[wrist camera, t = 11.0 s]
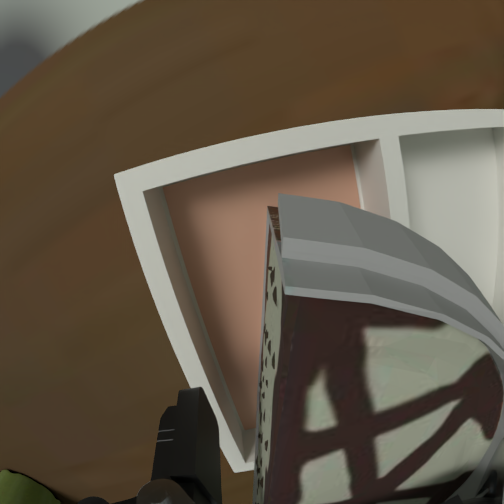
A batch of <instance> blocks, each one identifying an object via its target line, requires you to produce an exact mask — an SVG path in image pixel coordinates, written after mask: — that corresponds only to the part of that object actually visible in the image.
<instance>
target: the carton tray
mask: <svg viewBox="0 0 504 504" xmlns="http://www.w3.org/2000/svg"><path fill="white" fill-rule="evenodd" d="M114 178H115V182H116V185H117V189H118V192H119V196H120V199H121V203H122V206H123V210H124V213H125V216H126V220H127V223H128V226H129V229H130V232H131V236H132V239H133V242H134V245H135V248H136V251H137V254H138V257H139V260H140V263H141V266H142V269H143V271H144V274H145V277H146V280H147V283H148V285H149V288H150V291H151V293H152V296H153V299H154V301H155V304H156V307H157V309H158V312H159V314H160V317H161V320H162V322H163V325H164V327H165V330H166V332H167V334H168V337H169V339H170V342H171V344H172V346H173V349H174V351H175V353H176V356H177V358H178V360H179V363H180V365H181V367H182V370H183V372H184V374H185V376H186V378H187V381H188V383H189V385H190V387H191V388H195V387H202V388H203V389H204V392H205V394H206V396H207V398H208V401H209V403H210V405H211V407H212V409H213V411H214V414H215V416H216V419H217V422H218V427H219V441H220V447H221V449H222V451H223V453H224V455H225V457H226V458H227V460H228V462H229V464H230V466H231V468H232V469H233V471H234V473H236V472H243V471H248V470H254V463H255V439H256V413H257V388H258V372H259V355H260V338H261V320H262V302H263V282H264V263H265V242H266V221H267V206H273V207H278V193H281V194H288V195H296V196H303V197H310V198H317V199H324V200H331V201H337V202H341V203H344V204H347V205H350V206H353V207H356V208H359V209H362V210H365V211H368V212H371V213H374V214H377V215H380V216H383V217H386V218H389V219H391V220H394V221H397V222H398V223H400V224H402V225H404V226H405V227H407V228H409V229H410V230H412V231H414V232H415V233H417V234H419V235H421V236H422V237H424V238H426V239H427V240H429V241H430V242H432V243H434V244H435V245H437V246H439V247H440V248H441V249H442V250H443V251H444V252H445V253H446V254H447V255H448V256H449V257H451V258H452V259H453V260H454V261H455V262H456V263H457V264H458V265H459V266H460V267H461V268H462V269H463V270H464V271H465V272H466V273H467V274H468V275H469V276H470V278H471V279H472V280H473V282H474V283H475V284H476V286H477V287H478V288H479V290H480V291H481V293H482V294H483V296H484V297H485V298H486V300H487V301H488V303H489V304H490V306H491V307H492V309H493V310H494V312H495V313H496V315H497V316H498V318H499V319H500V321H501V322H502V324H503V326H504V109H467V110H440V111H423V112H410V113H398V114H388V115H378V116H369V117H361V118H353V119H346V120H339V121H332V122H326V123H319V124H313V125H307V126H301V127H296V128H290V129H285V130H280V131H275V132H270V133H265V134H260V135H255V136H251V137H246V138H242V139H237V140H233V141H229V142H225V143H221V144H217V145H213V146H209V147H205V148H201V149H197V150H193V151H190V152H186V153H182V154H179V155H175V156H172V157H168V158H165V159H161V160H158V161H155V162H151V163H148V164H145V165H142V166H139V167H135V168H132V169H129V170H126V171H123V172H120V173H117V174H114Z"/></svg>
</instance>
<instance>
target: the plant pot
mask: <svg viewBox="0 0 504 504" xmlns="http://www.w3.org/2000/svg"><path fill="white" fill-rule="evenodd" d="M0 504H61V503H60V501H59V500H56V499H55V497H54V496H53V494H52V493H51V492H50V491H48V489H46V488H45V487H43V486H42V485H40V484H38V483H36V482H35V481H33V480H32V479H30V478H28V477H26V476H24V475H21V474H14V473H11V472H10V471H9V470H2V471H1V472H0Z"/></svg>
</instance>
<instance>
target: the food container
mask: <svg viewBox="0 0 504 504" xmlns="http://www.w3.org/2000/svg"><path fill="white" fill-rule="evenodd" d="M503 438H504V326H503V324H502V322H501V321H500V319H499V318H498V316H497V315H496V313H495V312H494V310H493V309H492V307H491V306H490V304H489V303H488V301H487V300H486V298H485V297H484V296H483V294H482V293H481V291H480V290H479V288H478V287H477V286H476V284H475V283H474V282H473V280H472V279H471V278H470V276H469V275H468V274H467V273H466V272H465V271H464V270H463V269H462V268H461V267H460V266H459V265H458V264H457V263H456V262H455V261H454V260H453V259H452V258H451V257H449V256H448V255H447V254H446V253H445V252H444V251H443V250H442V249H441V248H440V247H439V246H437V245H435V244H434V243H432V242H430V241H429V240H427V239H426V238H424V237H422V236H421V235H419V234H417V233H415V232H414V231H412V230H410V229H409V228H407V227H405V226H404V225H402V224H400V223H398V222H397V221H394V220H391V219H389V218H386V217H383V216H380V215H377V214H374V213H371V212H368V211H365V210H362V209H359V208H356V207H353V206H350V205H347V204H344V203H341V202H337V201H331V200H324V199H317V198H310V197H303V196H296V195H288V194H281V193H278V207H273V206H267V221H266V242H265V263H264V282H263V302H262V320H261V338H260V355H259V372H258V388H257V413H256V439H255V463H254V487H253V504H441V503H443V502H445V501H447V500H449V499H450V498H452V497H454V496H456V495H457V494H458V495H459V497H460V498H461V500H466V499H470V498H474V496H475V494H476V491H477V489H478V486H479V484H480V482H481V480H482V478H483V475H484V473H485V471H486V468H487V466H488V464H489V462H490V460H491V458H492V456H493V454H494V452H495V450H496V448H497V447H498V445H499V443H500V441H501V440H502V439H503ZM488 490H489V489H486V490H485V491H484V492H483V493H482V494H480V495H479V496H477V497H476V498H478V497H483V496H484V495H485V494H486V493H487V492H488Z"/></svg>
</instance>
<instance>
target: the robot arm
mask: <svg viewBox="0 0 504 504" xmlns="http://www.w3.org/2000/svg"><path fill="white" fill-rule="evenodd" d="M486 489H489V490H488V492H487V493H486V494H485V495H484V496H483V497H478V498H476V497H477V496H479V495H480V494H482V493H483V492H484V491H485V490H486ZM77 504H109V503H108V502H107V501H105V500H104V499H102V498H99V497H88V498H85V499H83V500H81V501H80V502H78V503H77ZM112 504H222V494H221V470H220V441H219V427H218V422H217V419H216V416H215V414H214V411H213V409H212V407H211V405H210V403H209V401H208V398H207V396H206V394H205V392H204V389H203V388H202V387H195V388H190V389H184V390H180V391H179V394H178V401H177V406H170V407H168V408H167V409H166V411H165V412H164V414H163V415H162V417H161V419H160V425H159V433H158V437H157V443H156V450H155V456H154V463H153V470H152V477H151V481H150V482H148V483H147V484H145V485H144V486H143V487H142V488H141V489H140V491H139V492H138V494H137V496H136V497H134V498H131V499H128V500H124V501H120V502H116V503H112ZM441 504H504V438H503V439H502V440H501V441H500V443H499V445H498V447H497V448H496V450H495V452H494V454H493V456H492V458H491V460H490V462H489V464H488V466H487V468H486V471H485V473H484V475H483V478H482V480H481V482H480V484H479V486H478V489H477V491H476V494H475V496H474V498H470V499H466V500H461V498H460V497H459V495H458V494H457V495H456V496H454V497H452V498H450V499H449V500H447V501H445V502H443V503H441Z"/></svg>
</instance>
